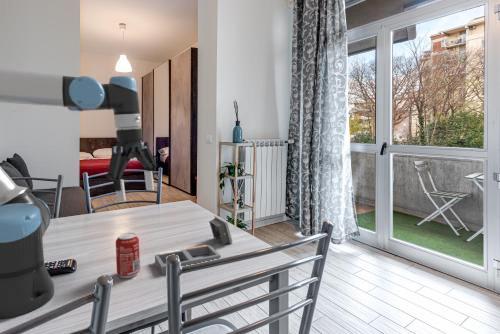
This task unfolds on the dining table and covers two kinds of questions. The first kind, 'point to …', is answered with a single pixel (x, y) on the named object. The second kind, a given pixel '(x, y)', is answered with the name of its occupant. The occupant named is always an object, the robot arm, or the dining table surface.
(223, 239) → the electrical switch
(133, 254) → the beverage can
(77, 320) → the dining table surface
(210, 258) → the socket board
